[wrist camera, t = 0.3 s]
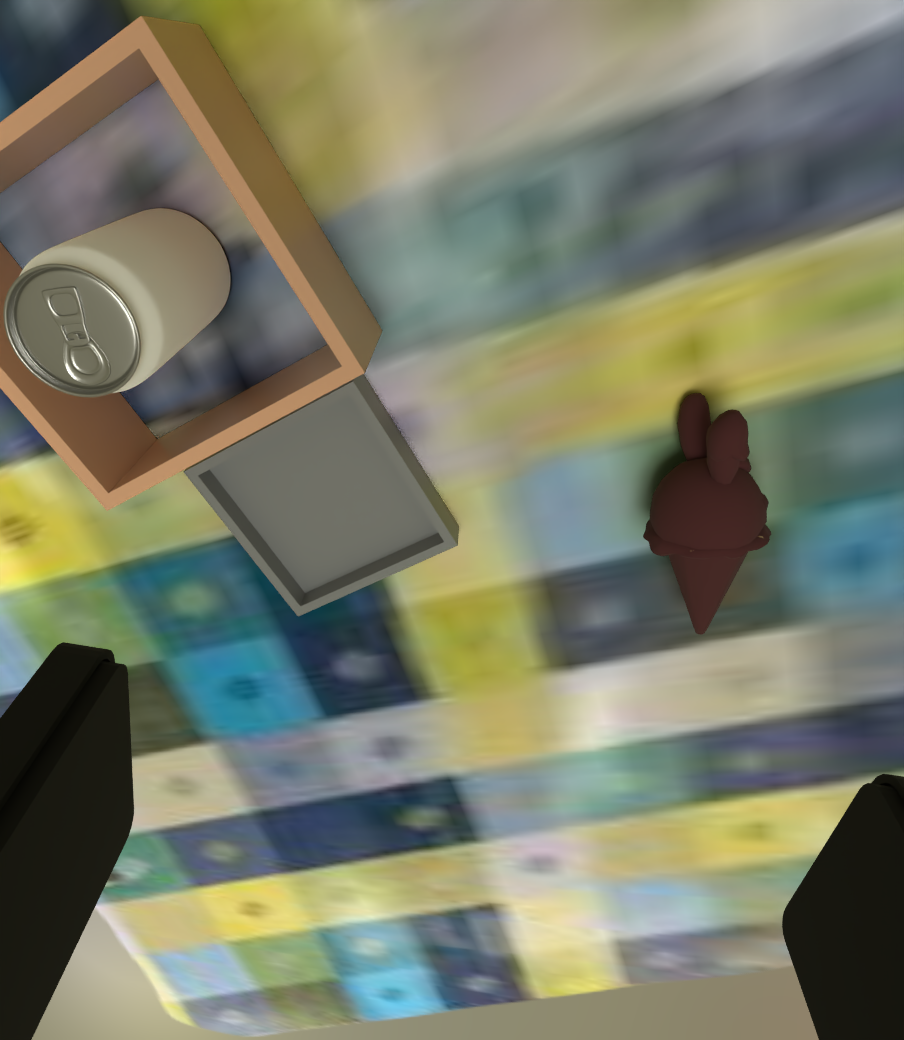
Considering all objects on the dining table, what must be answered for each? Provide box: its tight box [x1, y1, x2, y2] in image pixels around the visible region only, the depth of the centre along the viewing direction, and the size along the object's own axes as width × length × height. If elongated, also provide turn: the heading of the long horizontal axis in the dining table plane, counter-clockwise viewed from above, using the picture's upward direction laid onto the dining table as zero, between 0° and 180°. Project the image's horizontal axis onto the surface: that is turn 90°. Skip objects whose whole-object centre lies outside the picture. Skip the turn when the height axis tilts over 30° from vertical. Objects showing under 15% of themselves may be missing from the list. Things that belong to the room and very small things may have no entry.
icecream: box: [643, 393, 771, 634], centre depth 45 cm, size 7×7×15 cm
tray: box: [184, 374, 459, 616], centre depth 48 cm, size 12×12×2 cm
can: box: [3, 208, 231, 397], centre depth 37 cm, size 6×6×12 cm
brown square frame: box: [0, 16, 382, 511], centre depth 39 cm, size 17×17×7 cm
